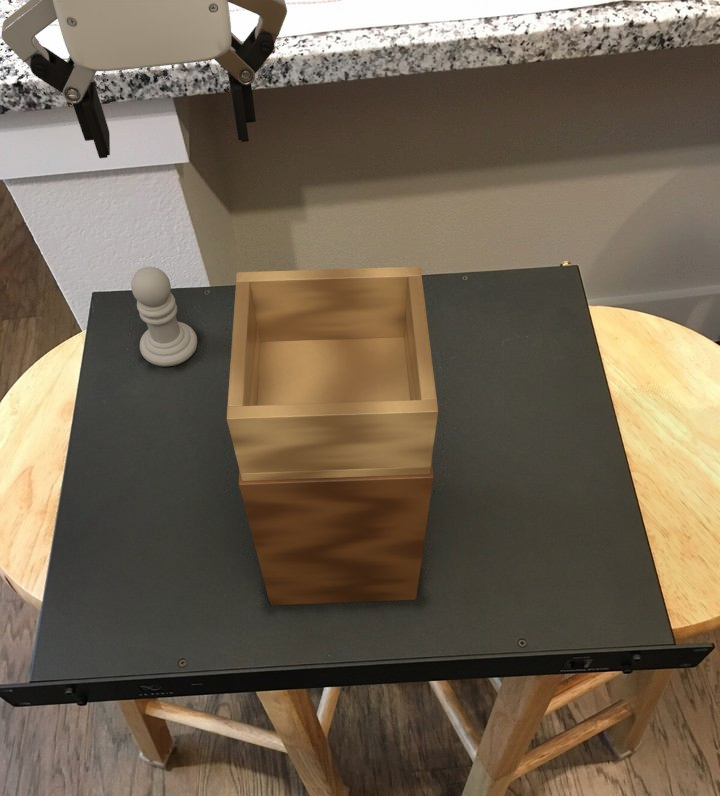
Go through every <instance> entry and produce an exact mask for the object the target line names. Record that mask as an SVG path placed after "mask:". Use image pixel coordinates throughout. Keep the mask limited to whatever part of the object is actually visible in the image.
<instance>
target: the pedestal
mask: <svg viewBox="0 0 720 796" xmlns="http://www.w3.org/2000/svg"><path fill="white" fill-rule="evenodd" d="M434 477H435V476H434V469H433V461H432V462H431V468H430V474H422V475H394V476H367V477H339V478H312V479H284V480H256V481H242V478H241V474H240V470H239V472H238V487H239V490H240V495H241V499H242V502H243V506H244V511H245V514H246V518H247V522H248V526H249V529H250V533H251V536H252V541H253V545H254V549H255V552H256V556H257V560H258V564H259V567H260V568H259V569H260V572H261V576H262V579H263V583H264V587H265V591H266V594H267V598H268V602H269V605H270V606H289V605H292V606H293V605H316V604H318V605H319V604H341V603H342V604H343V603H367V602H368V603H370V602H371V603H372V602H390V601H391V602H394V601H415V600H417V595H418V589H419V581H420V575H421V570H422V569H421V567H422V561H423V553H424V547H425V541H426V533H427V527H428V521H429V520H428V519H429V513H430V504H431V499H432V490H433V485H434Z"/></svg>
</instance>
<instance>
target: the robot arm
mask: <svg viewBox="0 0 720 796" xmlns="http://www.w3.org/2000/svg"><path fill="white" fill-rule="evenodd" d="M229 4H231V5H234V6H237V7H240V8H241V9H244V10H246V11H248V12H251V13H253V14H255V15H258V16H259V17H258V19H257V23H256V26H254V28H253V29H252V31H250V33H249V34H248V36H247V37H246V38H245V39H244V41H243V42H242V41H241V40H240V39H239V38H238V37H237V36H236V35H235V34H234V33H233V32H232V23H231V22H232V21H231V15H230V14H231V13H230V6H229ZM287 15H288V8H287V4H286V0H29V1H27V2H26V3H24V4H23V5H22V6H21V7H19V8H18V9H17V10H15V11H14V12H13V13H12V14H10V15H9V16H8V17H6V18H5V19H4V21H3V22H2V28H1V39H2V41H3V42H4V43H5V44H6V45H7V46H8V47H9V48H10V49H11V51H13V52H14V54H15V55H16V56H17V57H18V58H19V59H20V60H21V61H22V62H23V63H25V64H26V65H27V66H28V67H29V69H30V71H31V73H32V74H33V75H34V76H35V77H36V78H38V79H39V80H41V81H43V82H44V83H45V84H47V85H48V86H50V87H52V88H53V89H55V90H57V91H58V92H59V93H61V94H62V96H63V98H64V99H65V101H66V102H68V103H70V104H72V106H73V109H74V113H75V116H76V118H77V121H78V124H79V128H80V130H81V133H82V136H83V138H84V141H85V142H88V141H93V143H94V147H95V149H96V152H97V156H98V158H99V159H107V158H108V156H111V142H110V141H111V140H110V139H111V137H110V130H109V126H108V123H107V118H106V116H105V112H104V110H103V109H104V108H103V105H102V102H101V100H100V96H99V92H98V90H97V87H96V83H95V81H93V79H94V77H95V76H96V73H97V72H114V71H115V72H116V71H125V70H135V69H145V68H156V67H163V66H164V67H165V66H174V65H182V64H192V63H200V62H206V61H207V62H208V61H212V60H214V61H216V62H217V64H219V65H220V66H221V67H222V68H223V69H224V70H225V71H226V72H227V76H228V83H229V90H230V96H231V97H230V98H231V104H232V110H233V117H234V122H235V129H236V133H237V139H238V141H241V143H246V142H247V143H248V142H249V141H250V139H249V132H248V125H247V124H248V123H256V122H257V119H256V110H255V103H254V95H253V94H254V93H253V86H252V84H253V83H254V82H255V79H256V74H257V72H258V71H259V70H260V68H261V67H262V66H263V65H264V64H265V62H267V60H268V59H269V57H270V56H271V55H272V53H273V52H274V50H275V47H276V42H277V38H278V37H279V35H280V33H281V30H282V27H283V25H284V23H285V19H286V16H287ZM56 20H57V22H58V26H59V30H60V32H61V36H62V39H63V43H64V45H65V48H66V50H67V53H68V54H69V56H68V58H67V60H65V59H64V58H62V57H60V56H59V55H58V54H56V53H54V52H53V51H51V50H50V49H49V48H47V47H45V46H43V45H42V44H41V43H40V41H39V39H37V37H36V36H37V35H38V34H40V32H42V31H44V29H46V28H48V26H50V25H51V24H53V23H54V22H55V21H56Z"/></svg>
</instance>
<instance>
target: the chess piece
mask: <svg viewBox="0 0 720 796" xmlns="http://www.w3.org/2000/svg"><path fill="white" fill-rule="evenodd" d="M130 282H131V284H130V285H131V287H130V288H131V292H132V295H133V297H134V298H135V299H136V309H137V311H138V312H139V317H140V319H141V320H142V321H143V322H144V323H146V326H147V329H146V331H144V333H143V334H142V336H141V337H140V341H139V351H140V354H141V356H142V357H143V358H144V359H145V361H147V362H149V364H152V365H154V366H158V367H172V366H173V367H174V366H177V365H180V364H182V363H184V362H186V361H187V360H189V359H190V358H191V357H192V356H193V355H194V354H195V352H196V350H197V347H198V336H197V334H196V331H194V329H193V328H192V327H191V326H190V325H188V324H187V323H184V322H181V321H178V319H177V313H178V305H177V303H176V298H175V296H174V294H172V292H171V290H172V285H171V281H170V278H169V277H168V275H167V273H166V272H165V271H163V270H162V269H160V268H158V267H155V266H144V267H141V268H140V269H138V270H137V271H135V273H134V274H133V276H132V279H131V281H130Z"/></svg>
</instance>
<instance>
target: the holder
mask: <svg viewBox="0 0 720 796" xmlns="http://www.w3.org/2000/svg"><path fill="white" fill-rule="evenodd" d="M233 307H234V308H233V321H232V335H231V336H232V337H231V347H230V348H231V349H230V364H229V379H228V380H229V382H228V393H227V394H228V395H227V406H226V422H227V426H228V431H229V433H230V438H231V442H232V446H233V450H234V453H235V458H236V462H237V466H238V469H239V470H240V474H241V478H242V481H256V480H284V479H312V478H339V477H367V476H394V475H422V474H430V468H431V462H432V463H433V454H434V446H435V445H434V444H435V439H436V431H437V425H438V417H439V405H438V400H437V399H438V397H437V390H436V380H435V373H434V366H433V365H434V364H433V357H432V348H431V340H430V332H429V323H428V316H427V308H426V299H425V291H424V283H423V276H422V268H421V266H396V267H395V266H394V267H364V268H363V267H361V268H331V269H330V268H329V269H302V270H301V269H299V270H298V269H297V270H295V269H294V270H266V271H237V272H236V278H235V293H234V305H233Z"/></svg>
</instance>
